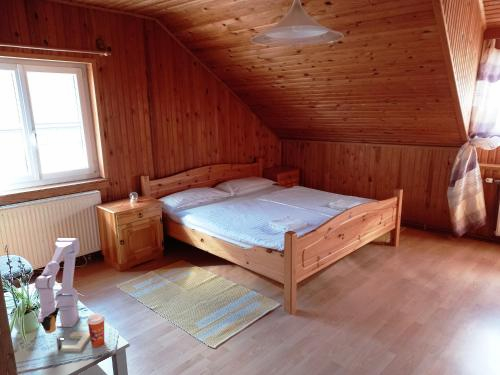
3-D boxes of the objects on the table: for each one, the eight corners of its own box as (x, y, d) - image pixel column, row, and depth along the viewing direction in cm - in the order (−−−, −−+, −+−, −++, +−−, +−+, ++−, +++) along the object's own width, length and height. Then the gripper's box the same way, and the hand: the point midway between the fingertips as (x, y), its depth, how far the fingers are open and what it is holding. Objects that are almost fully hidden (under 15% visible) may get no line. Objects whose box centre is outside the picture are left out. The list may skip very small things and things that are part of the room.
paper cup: (93, 351, 167) (90, 324, 163) (86, 343, 172) (83, 316, 168) (109, 343, 172) (107, 317, 169) (102, 335, 177) (100, 310, 174)
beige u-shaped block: (73, 334, 177) (72, 331, 177) (91, 335, 178) (91, 332, 177) (61, 351, 166) (60, 348, 165) (80, 351, 166) (80, 348, 166)
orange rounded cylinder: (48, 327, 171) (46, 315, 170) (57, 327, 171) (56, 315, 170) (43, 333, 167) (41, 320, 165) (52, 333, 167) (51, 320, 165)
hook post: (58, 347, 169) (57, 337, 167) (65, 347, 169) (64, 337, 167) (56, 349, 167) (55, 340, 166) (63, 349, 167) (62, 340, 166)
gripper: (46, 292, 172) (49, 317, 175) (29, 309, 158) (32, 336, 161) (61, 292, 173) (64, 318, 176) (45, 309, 158) (48, 336, 161)
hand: (50, 326), depth 168 cm, fingers closed on orange rounded cylinder, 4 cm apart
